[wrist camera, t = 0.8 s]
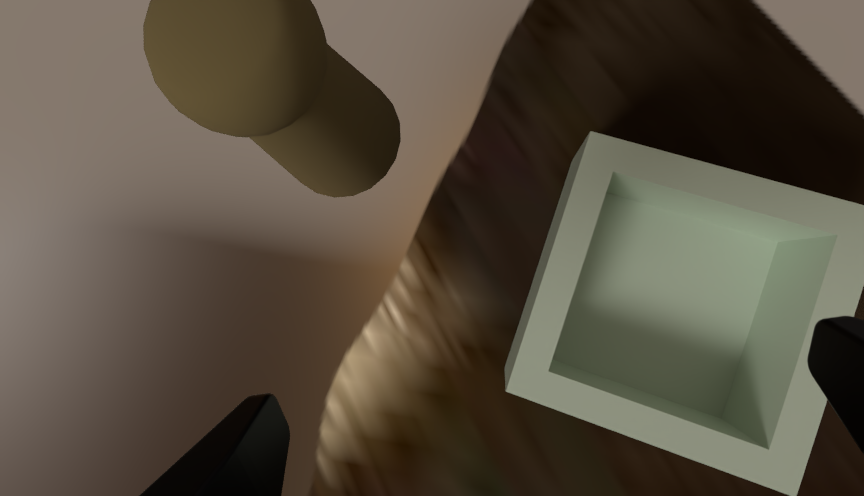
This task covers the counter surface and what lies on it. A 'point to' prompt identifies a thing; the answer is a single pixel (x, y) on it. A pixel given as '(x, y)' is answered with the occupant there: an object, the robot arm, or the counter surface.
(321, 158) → the cork
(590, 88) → the counter surface
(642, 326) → the end cap socket
